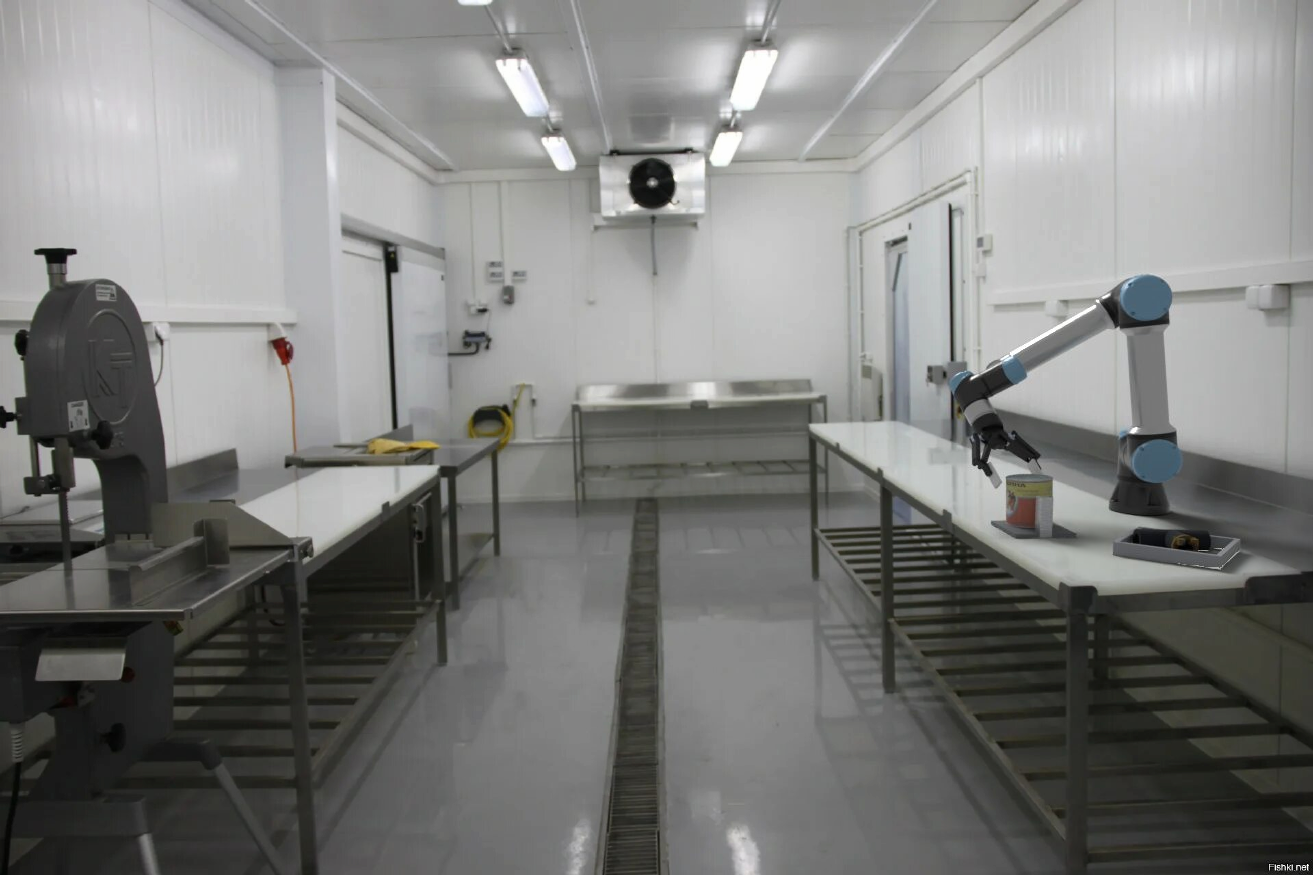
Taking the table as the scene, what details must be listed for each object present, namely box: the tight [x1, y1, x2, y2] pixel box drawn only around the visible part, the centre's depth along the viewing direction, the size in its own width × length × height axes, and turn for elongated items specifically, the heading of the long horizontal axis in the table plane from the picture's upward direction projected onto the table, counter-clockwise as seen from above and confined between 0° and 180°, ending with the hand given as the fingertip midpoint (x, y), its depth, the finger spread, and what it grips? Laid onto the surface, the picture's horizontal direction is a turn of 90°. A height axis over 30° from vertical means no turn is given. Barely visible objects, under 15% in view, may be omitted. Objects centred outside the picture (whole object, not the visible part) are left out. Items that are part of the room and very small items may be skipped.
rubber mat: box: [990, 519, 1077, 539], centre depth 230 cm, size 16×15×1 cm
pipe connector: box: [1132, 528, 1211, 552], centre depth 205 cm, size 12×5×15 cm
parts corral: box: [1112, 526, 1241, 568], centre depth 205 cm, size 21×21×3 cm
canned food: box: [1005, 473, 1054, 528], centre depth 232 cm, size 11×11×12 cm
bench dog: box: [1035, 495, 1054, 539], centre depth 223 cm, size 3×3×10 cm
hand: (1020, 483), depth 233 cm, fingers open, 13 cm apart
